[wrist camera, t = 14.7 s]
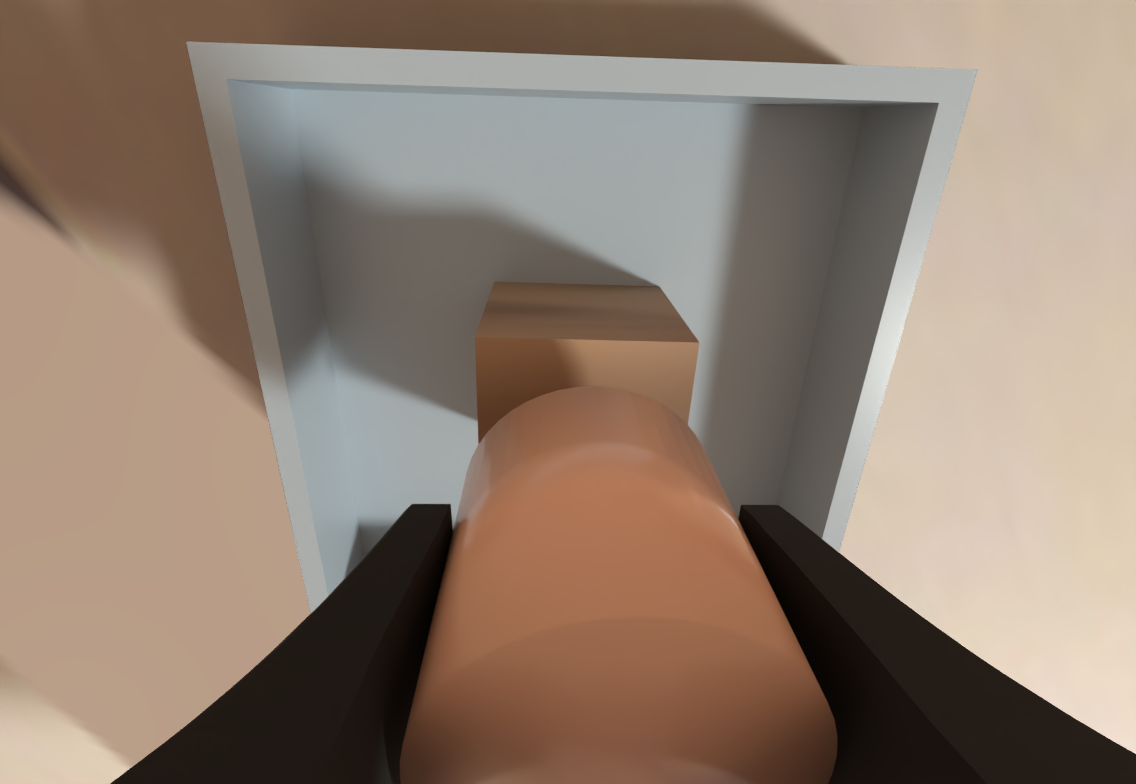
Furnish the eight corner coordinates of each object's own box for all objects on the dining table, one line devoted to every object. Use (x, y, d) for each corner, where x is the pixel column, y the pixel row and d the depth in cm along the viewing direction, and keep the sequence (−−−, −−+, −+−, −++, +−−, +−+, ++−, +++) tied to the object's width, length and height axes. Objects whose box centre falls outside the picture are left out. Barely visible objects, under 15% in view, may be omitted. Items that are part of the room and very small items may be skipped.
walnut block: (644, 431, 18) (673, 523, 14) (496, 428, 18) (481, 521, 13) (659, 286, 16) (699, 342, 12) (494, 281, 16) (474, 336, 11)
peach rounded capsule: (696, 592, 12) (790, 888, 7) (469, 593, 11) (419, 898, 7) (728, 387, 10) (889, 615, 5) (456, 384, 10) (374, 618, 5)
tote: (771, 550, 21) (815, 633, 18) (355, 550, 20) (315, 635, 17) (876, 83, 15) (977, 69, 11) (275, 62, 14) (186, 41, 11)
